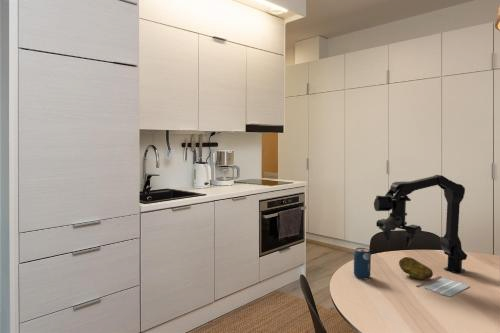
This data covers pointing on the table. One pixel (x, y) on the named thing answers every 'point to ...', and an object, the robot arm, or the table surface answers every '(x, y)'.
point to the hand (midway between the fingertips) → (397, 245)
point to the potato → (415, 268)
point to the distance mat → (447, 287)
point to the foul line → (428, 281)
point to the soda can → (362, 263)
